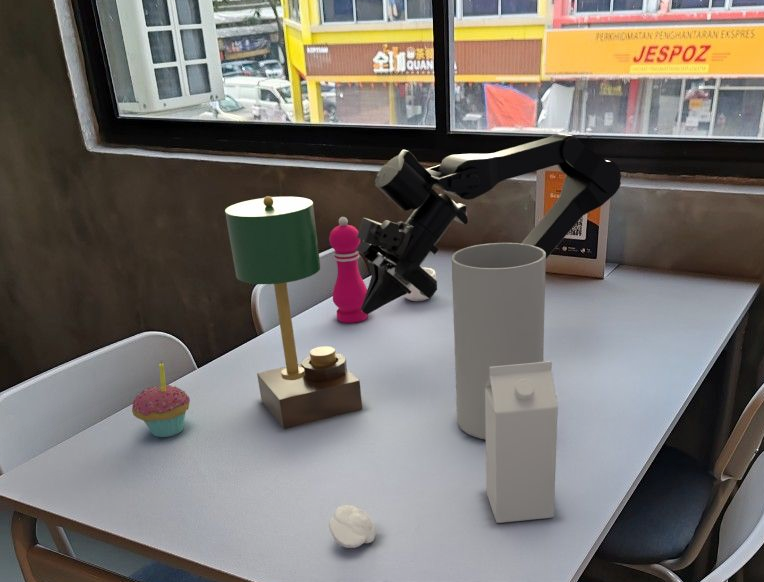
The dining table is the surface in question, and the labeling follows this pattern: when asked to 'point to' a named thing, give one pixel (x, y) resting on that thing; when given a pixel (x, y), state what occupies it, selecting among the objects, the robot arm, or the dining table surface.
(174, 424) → the cupcake
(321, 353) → the button
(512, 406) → the milk carton
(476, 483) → the dining table surface
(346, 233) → the pepper mill
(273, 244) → the desk lamp
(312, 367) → the lamp base
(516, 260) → the cylinder vase
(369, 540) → the dumpling
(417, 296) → the teacup
